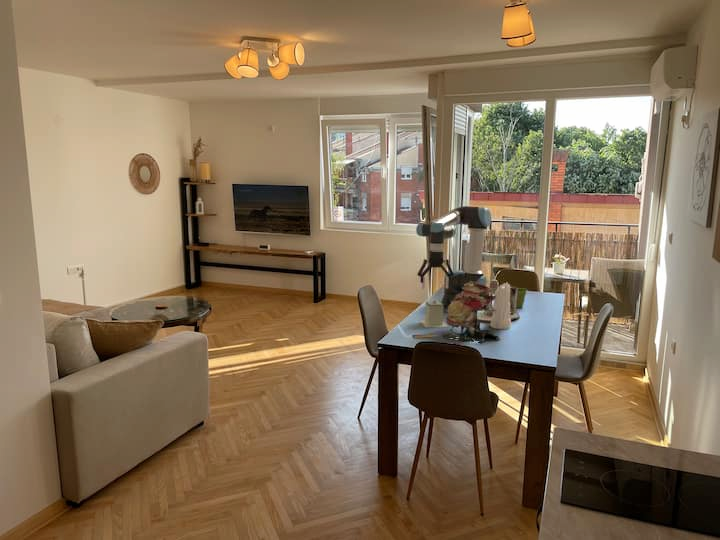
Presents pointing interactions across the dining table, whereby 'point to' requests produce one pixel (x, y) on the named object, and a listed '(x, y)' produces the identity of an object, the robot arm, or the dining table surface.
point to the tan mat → (423, 336)
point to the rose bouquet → (469, 312)
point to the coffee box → (513, 298)
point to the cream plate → (433, 326)
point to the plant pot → (520, 297)
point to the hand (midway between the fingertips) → (435, 288)
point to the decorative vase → (501, 308)
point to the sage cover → (434, 313)
